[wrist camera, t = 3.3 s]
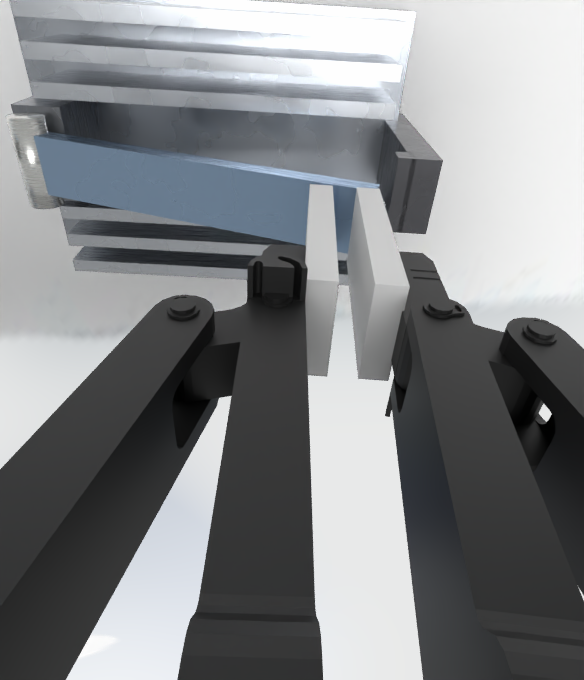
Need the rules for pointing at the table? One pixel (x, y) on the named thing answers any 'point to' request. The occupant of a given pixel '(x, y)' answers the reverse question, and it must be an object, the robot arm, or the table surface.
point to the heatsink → (225, 110)
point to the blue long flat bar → (173, 184)
